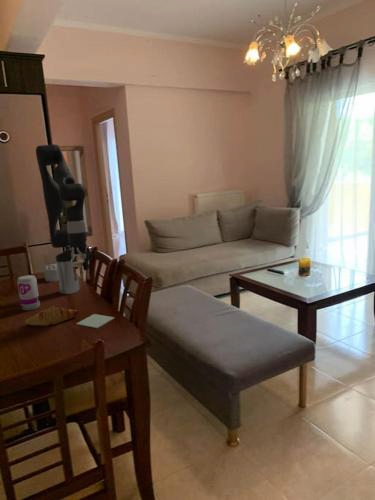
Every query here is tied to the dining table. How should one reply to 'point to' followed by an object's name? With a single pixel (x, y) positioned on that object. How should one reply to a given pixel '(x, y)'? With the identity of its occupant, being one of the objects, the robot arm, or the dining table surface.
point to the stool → (80, 265)
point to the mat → (95, 321)
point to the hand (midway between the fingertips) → (81, 269)
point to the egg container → (51, 272)
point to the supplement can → (28, 292)
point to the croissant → (51, 316)
